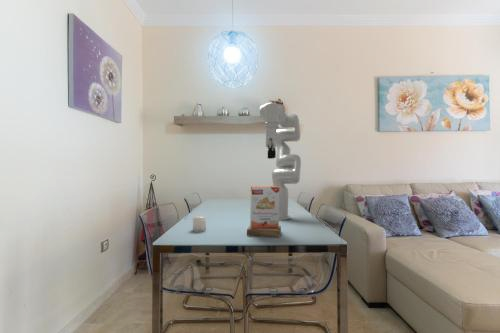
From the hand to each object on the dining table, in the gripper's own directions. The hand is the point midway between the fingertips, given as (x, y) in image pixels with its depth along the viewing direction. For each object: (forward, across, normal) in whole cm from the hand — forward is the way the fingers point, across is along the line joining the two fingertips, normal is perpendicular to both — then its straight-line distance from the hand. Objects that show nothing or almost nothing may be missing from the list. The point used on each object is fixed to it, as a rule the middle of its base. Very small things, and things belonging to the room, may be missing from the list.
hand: (271, 158), depth 163 cm
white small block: (+38, +13, -37) cm, 55 cm away
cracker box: (+35, +13, -2) cm, 37 cm away
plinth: (+38, +14, -2) cm, 40 cm away
